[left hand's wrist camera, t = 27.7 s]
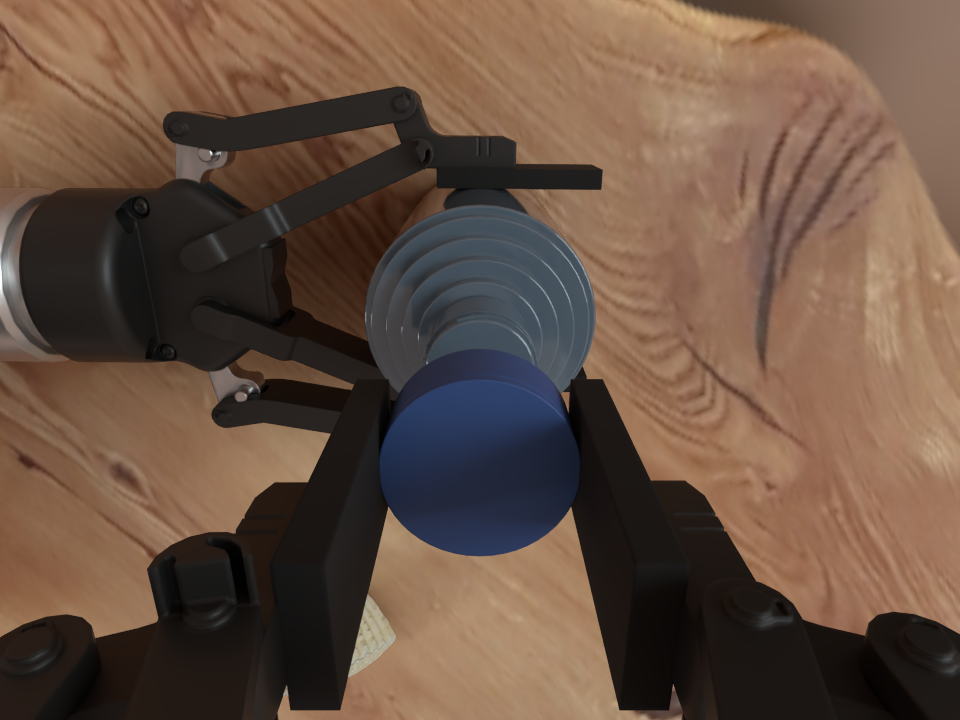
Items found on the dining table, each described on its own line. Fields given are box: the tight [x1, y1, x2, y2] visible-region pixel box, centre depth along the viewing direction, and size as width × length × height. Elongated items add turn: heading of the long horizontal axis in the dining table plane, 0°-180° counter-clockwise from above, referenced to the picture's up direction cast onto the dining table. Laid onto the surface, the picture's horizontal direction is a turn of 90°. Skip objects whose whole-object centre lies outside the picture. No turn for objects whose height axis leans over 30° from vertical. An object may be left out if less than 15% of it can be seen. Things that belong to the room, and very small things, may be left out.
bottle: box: [365, 185, 595, 393], centre depth 25 cm, size 8×8×17 cm
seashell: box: [283, 595, 396, 696], centre depth 40 cm, size 8×8×8 cm
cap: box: [379, 349, 580, 556], centre depth 14 cm, size 4×4×2 cm
